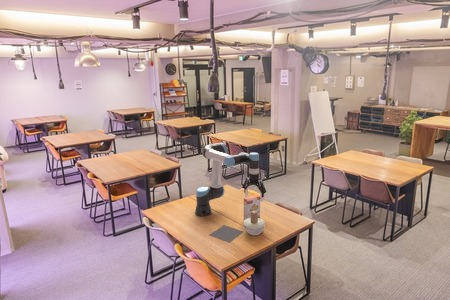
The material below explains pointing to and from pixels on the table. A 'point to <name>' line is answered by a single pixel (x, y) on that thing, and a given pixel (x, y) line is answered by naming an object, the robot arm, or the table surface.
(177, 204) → the table surface
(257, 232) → the paper bowls
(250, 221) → the lid
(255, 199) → the cracker box
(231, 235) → the mat
